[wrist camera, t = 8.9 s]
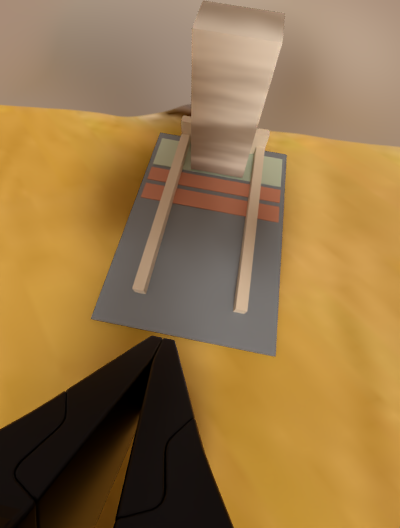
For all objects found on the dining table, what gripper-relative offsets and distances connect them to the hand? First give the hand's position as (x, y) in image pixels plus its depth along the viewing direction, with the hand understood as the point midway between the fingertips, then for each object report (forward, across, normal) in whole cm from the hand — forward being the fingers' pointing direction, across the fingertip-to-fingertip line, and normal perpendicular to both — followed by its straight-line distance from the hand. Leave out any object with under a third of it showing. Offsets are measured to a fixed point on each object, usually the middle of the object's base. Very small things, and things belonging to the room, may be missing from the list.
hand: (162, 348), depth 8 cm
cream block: (+22, 0, -10) cm, 24 cm away
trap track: (+17, 0, -2) cm, 17 cm away
